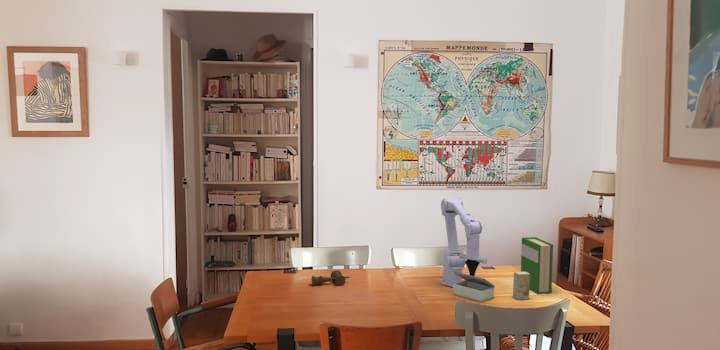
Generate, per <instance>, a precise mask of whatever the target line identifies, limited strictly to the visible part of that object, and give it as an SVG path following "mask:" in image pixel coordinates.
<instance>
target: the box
mask: <svg viewBox="0 0 720 350" xmlns="http://www.w3.org/2000/svg"><path fill="white" fill-rule="evenodd" d="M494 291H495V287H490V286H486V285H482V284H478V283H474V282H470V281H466V280H462V282H459V283H456V284H453V287H452V295H454V296H457V297H460V298H463V299H468V300H471V301H474V302H475V301H476V302H478V303H484V302H486V301H489V300H491V299H494V298H495V297H494V296H495V292H494Z"/></svg>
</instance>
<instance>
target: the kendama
mask: <svg viewBox="0 0 720 350" xmlns="http://www.w3.org/2000/svg"><path fill="white" fill-rule="evenodd" d="M350 278H351V276H344V275H343V274H342V272H341V271H340V270H338V269H337V270H333V271H332V272H331V274H330V277H328V276H327V277H326V276H322V275H320V276H314V275H312V276H311V284H312V286H313V287H315V286H316V285H323V284H325V283H327V282H331V281H333V282H334V283H335V285H336V286H338V287H341V286H342V287H343V286H344V285H345V284H346V279H350Z"/></svg>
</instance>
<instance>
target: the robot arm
mask: <svg viewBox="0 0 720 350" xmlns="http://www.w3.org/2000/svg"><path fill="white" fill-rule="evenodd" d="M440 209H441V215H442V216H443V217H444V221H445V229H446V237H447V245H448V249H446V251H445V252H444V253H443V255H444V256H443V257H444V258H443V263H444V267H443V269H442V273H441V274H442V276H441V277H442V280H441V281H442V282H441V283H440V284H441V285H442V286H443V285H444V286H447V287H451V288H453V284H456V283H459V282H462V281H463V278H461V277H459V276H458V275H456V274H455V273H454V272H459V273H463V269H464V267H465V266H466V267H467V269H468V275H471V276H475V277H476V272H477V269H478V267H479V265H480V263H481V264H487V263H488V259H487V258H485V257H482V256H480V235H481V233H482V231H483V226H482V225H483V224H482V223H481V221H479V220H475V219H474V217H473V216H472V214H471V213H470V212H467V211H466V209H465V207H464V203H463V199H462V198H461V197H458V198H457V197H456V198H444V197H443V199H442V200H441V202H440ZM457 216H459V221H460V222H461V224H462V225H463V226H464V231H465V238H466V253H465V252H464V250H462V249H461V248H460V247H459V241H458V239H459V238H458V233H457V232H458V231H457V223H456V217H457Z"/></svg>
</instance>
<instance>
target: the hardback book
mask: <svg viewBox="0 0 720 350" xmlns="http://www.w3.org/2000/svg"><path fill="white" fill-rule="evenodd" d="M553 255H554V244H553V243H550V242H548V241H546V240H543V239H541V238H539V237H536V236H531V237H530V236H529V237H521V254H520V258H521V259H520V272H527V273H529V274H530V286H529V291H530V292H533V293H534V294H536V295H540V293H548V294H553V293H552V289H553V287H552V285H553V265H554V263H553V261H554V259H553V258H554V256H553Z"/></svg>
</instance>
